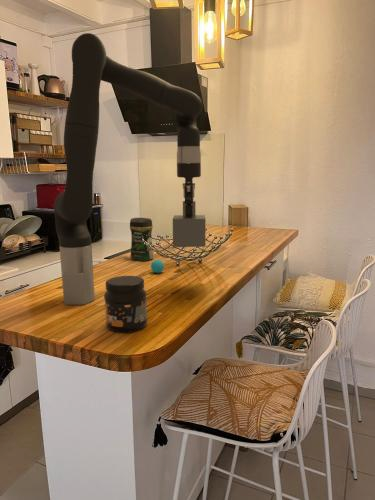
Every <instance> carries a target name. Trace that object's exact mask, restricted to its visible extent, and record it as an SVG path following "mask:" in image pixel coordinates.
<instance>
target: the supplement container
mask: <svg viewBox="0 0 375 500" xmlns="http://www.w3.org/2000/svg"><path fill="white" fill-rule="evenodd" d="M105 290H106V291H105V292H104V295H103V296H104V304H105V305H104V307H105V309H104V310H105V324H106V328H108V329H109V330H111V331H113V332H115V331H116V333H131V332H137V331H139V330H141V329H143V328H144V327H145V326H146V325H147V323H148V313H147V311H148V309H147V296H148V295H147V294H148V293H147V291H146V289H145V279H144V278H143V277H141V276H136V275H119V276H114V277H111V278H109V279H106V281H105Z"/></svg>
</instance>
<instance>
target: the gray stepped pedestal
mask: <svg viewBox="0 0 375 500" xmlns="http://www.w3.org/2000/svg"><path fill="white" fill-rule="evenodd" d="M184 201H185V200H183V201H182V214H179V215H178V214H174V215H173V218H172V247H173V248H190V247H191V248H196V247H197V248H200V247H201V248H205V247H206V215H205V214H200V215H199V214H196V213H197V212H196V200H193V205H191V206H192V208H193V216H192V217H186V210H185V206H187V205H185V203H184Z"/></svg>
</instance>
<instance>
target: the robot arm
mask: <svg viewBox="0 0 375 500" xmlns="http://www.w3.org/2000/svg"><path fill="white" fill-rule="evenodd" d="M71 61H72V81H71V82H72V83H71V89H70V95H69V99H68V102H67V103H68V104H67V109H66V114H65V122H64V133H63V150H64V156H65V164H66V179H65V187H64V191H61V192H60V193H59V194H58V195H57V196H56V198H55V200H54V205H53V209H54V211H53V212H54V220H55V230H56V234H57V238H58V244H59V245H58V246H59V255H60V256H59V257H60V259H59V260H60V270H61V272H60V273H61V283H62V284H61V285H62V294H63V302H64V305H65V306H66V305H67V306H71V305H72V306H73V305H77V306H82V305H83V306H85V305H87V304H89V303H91V302H94V300H95V299H96V295H95V294H96V293H95V281H94V280H95V279H94V267H93V266H94V264H93V246H92V235H91V233H90V232H89V228H88V226H87V225H88V223H87V220H88V219H89V218H90V216H91V215H92V212H93V205H94V203H93V202H94V201H93V200H94V199H93V198H94V197H93V192H94V191H93V178H94V169H95V162H96V155H97V153H96V152H97V147H98V140H99V139H98V138H99V129H100V126H99V125H100V88H101V81H103V82H105V83H108V84H111V85H113V86H116V87H119V88H121V89H124V90H127V91H128V92H130V93H132V94H134V95H136V96H138V97H141V98H142V99H144V100H147V101H149V102H151V103H152V104H155V105H157V106H159V107H162V108H169V109H171V110H173V111H174V117H175V118H174V119H175V124H176V130H177V131H176V132H177V135H176V136H177V139H176V140H177V149H176V150H177V151H176V176H177V178H184V183H182V189H183V196H182V197H183V199H184V200H183V201H184V203H185V205H187V206H185V210H186V217H192V216H193V208H192V206H191V205H193V201H194V198H195V190H196V183H194V181H193V179H194V178H201V175H202V172H201V171H202V165H201V164H202V162H201V161H202V157H201V156H202V154H201V133H200V130H199V128H198V127H197V125H198V124H197V117H198V116H199V115H200V114H201V112H202V110H203V101H202V99H201V98H200V96H198V94H196V93H194V92H193V91H191V90H188V89H185V88H183V87H181V86H176V85H174V84H171V83H169V82H167V81H165V80H164V79H161V78H160V77H158V76H156V75H154V74H151V73H149V72H147V71H143V70H140V69H136V68H132V67H129V66H125V65H124V64H122V63H118V62H117V61H116V60H113V59H112V58H111V57H109V56H107V51H106V47H105V44H104V43H103V41H102V40H101V39H100V38H99V36H97V35H96V34H93V33H89V32H88V33H86V32H85V33H82V34H80V35H79V36H78V37H77V38H76V39H75V40H74V41H73V44H72V48H71Z"/></svg>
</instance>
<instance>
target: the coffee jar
mask: <svg viewBox="0 0 375 500" xmlns="http://www.w3.org/2000/svg"><path fill="white" fill-rule="evenodd" d="M153 226H154V225H153V220H152V219H151V218H149V217H133V218H131V219H130V221H129V229H130V232H131V243H130V244H131V246H130V259H131V260H133V261H138V262H149V261H152V260H153V258H154V250H153V251H152V250H151V249H150V248H149V247H148V246H146V245H145V244H144V242H143V240H142V238H143V239H144V240H145V241H147V242H148V243H150V244H152V245H153V239H151V238H152V232H153V228H154V227H153ZM142 233H143V234H142ZM144 234H145V235H144ZM146 235H147V236H146ZM149 237H150V238H149Z"/></svg>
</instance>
